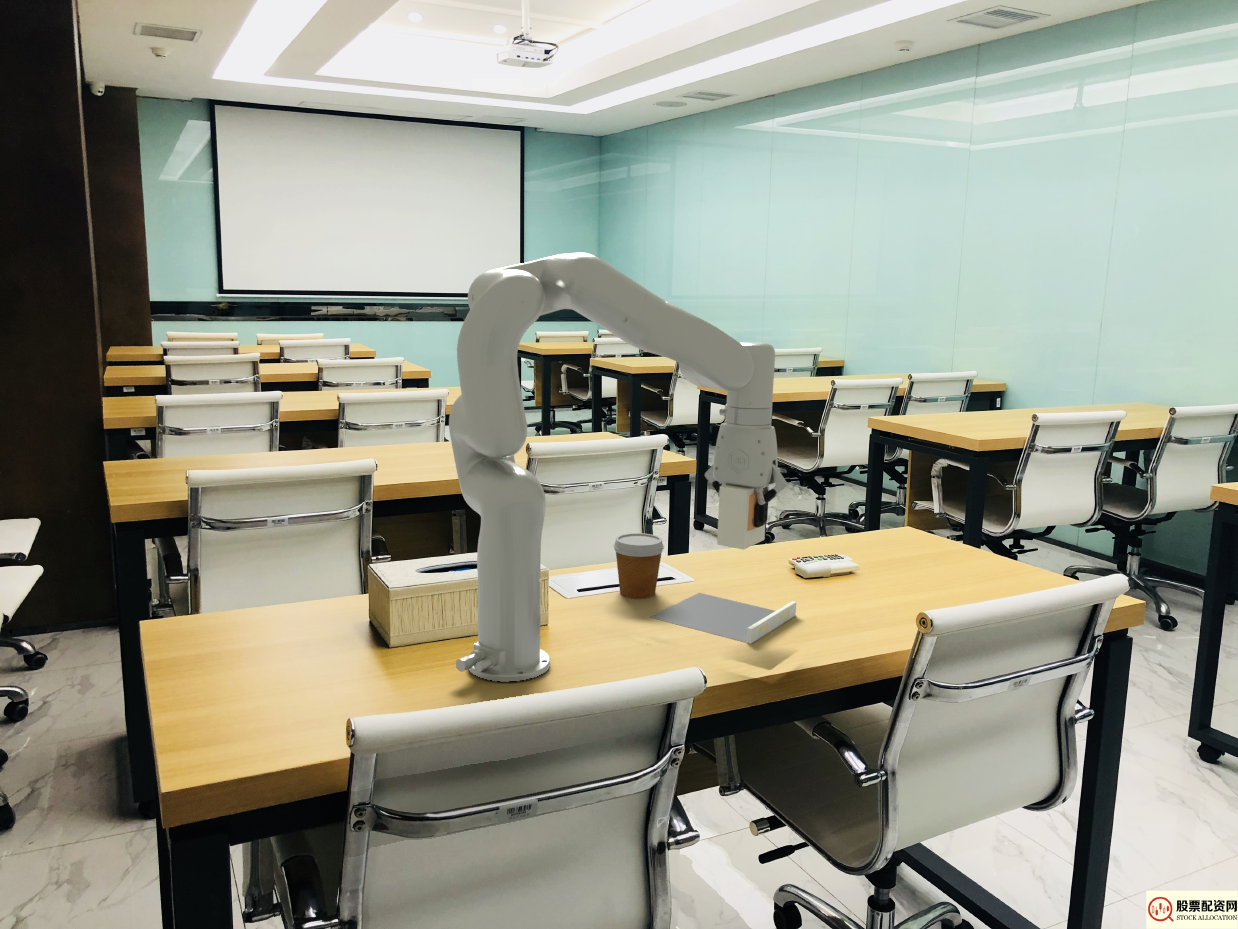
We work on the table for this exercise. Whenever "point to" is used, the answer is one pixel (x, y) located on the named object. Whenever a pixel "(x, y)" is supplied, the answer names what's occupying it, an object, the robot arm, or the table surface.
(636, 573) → the disposable coffee cup
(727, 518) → the carton
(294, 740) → the table surface
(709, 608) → the shelf board
